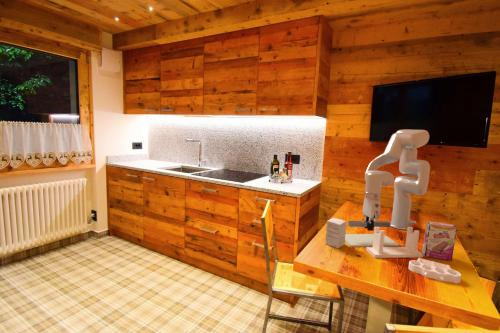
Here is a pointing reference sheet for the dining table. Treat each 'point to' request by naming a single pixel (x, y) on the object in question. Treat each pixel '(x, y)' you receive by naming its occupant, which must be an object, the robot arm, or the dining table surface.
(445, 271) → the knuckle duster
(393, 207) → the robot arm
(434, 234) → the candy bar box
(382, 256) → the hook rack
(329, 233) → the supplement box
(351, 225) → the rail
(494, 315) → the dining table surface
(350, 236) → the mat
